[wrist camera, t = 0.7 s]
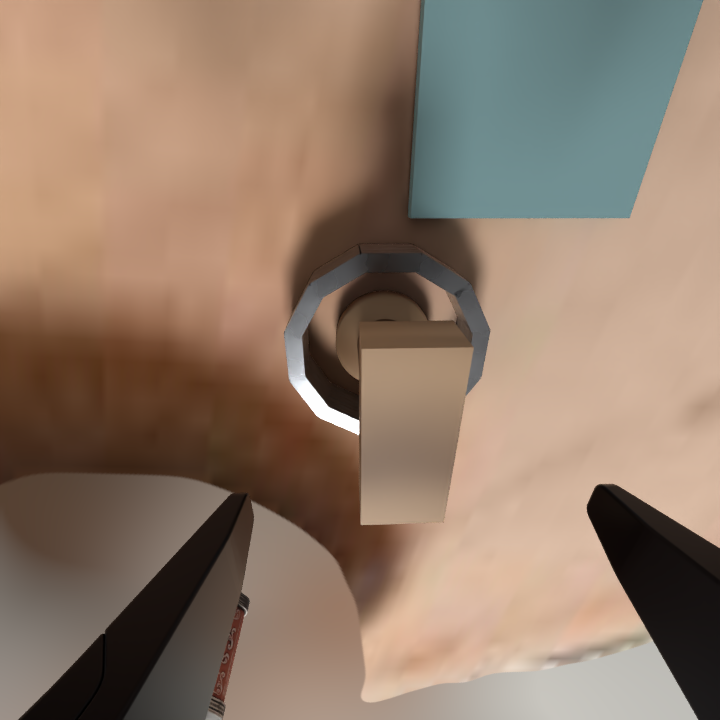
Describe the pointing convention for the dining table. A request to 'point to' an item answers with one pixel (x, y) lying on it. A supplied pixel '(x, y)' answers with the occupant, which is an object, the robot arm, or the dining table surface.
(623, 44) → the rubber mat
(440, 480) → the t key
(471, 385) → the ring socket
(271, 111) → the dining table surface
